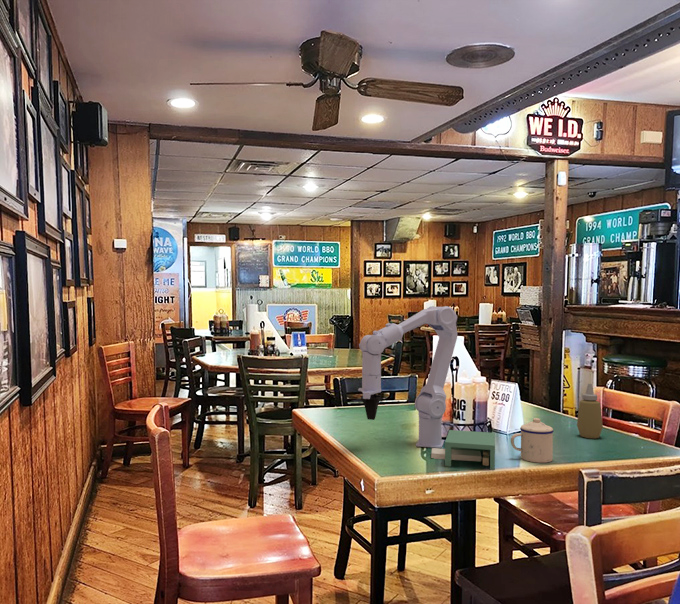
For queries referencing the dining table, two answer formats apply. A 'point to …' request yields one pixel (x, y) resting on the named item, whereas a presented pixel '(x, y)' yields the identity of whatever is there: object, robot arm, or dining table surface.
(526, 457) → the teacup with lid
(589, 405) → the squeeze bottle
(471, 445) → the shelf
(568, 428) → the dining table surface
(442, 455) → the beige rectangular block
